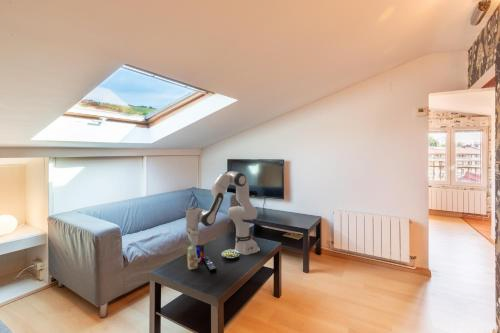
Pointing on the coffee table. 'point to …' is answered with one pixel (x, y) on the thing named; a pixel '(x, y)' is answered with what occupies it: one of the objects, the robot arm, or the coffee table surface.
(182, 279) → the coffee table surface
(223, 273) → the coffee table surface
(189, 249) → the sage cube
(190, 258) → the tower mid
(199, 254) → the puzzle toy
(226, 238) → the coffee table surface
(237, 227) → the robot arm
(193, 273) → the coffee table surface
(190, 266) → the tower base
